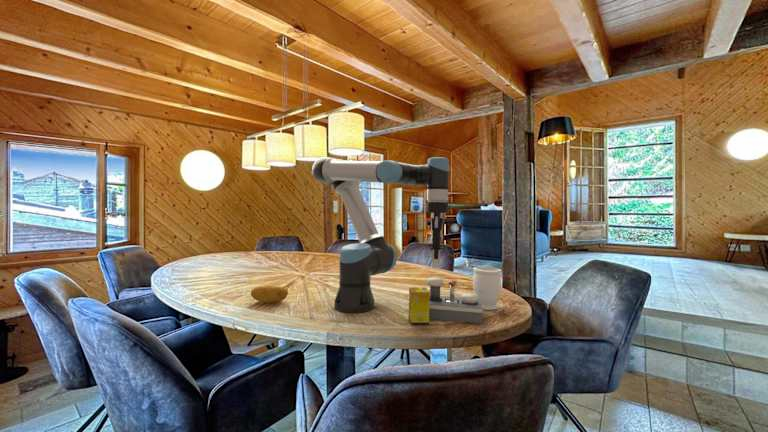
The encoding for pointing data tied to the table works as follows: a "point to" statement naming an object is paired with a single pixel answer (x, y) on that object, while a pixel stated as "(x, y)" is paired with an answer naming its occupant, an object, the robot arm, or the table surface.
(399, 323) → the table surface
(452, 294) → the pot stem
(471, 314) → the mount
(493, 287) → the white tapered cup
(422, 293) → the supplement box
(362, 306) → the robot arm
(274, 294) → the potato
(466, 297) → the knob right
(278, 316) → the table surface
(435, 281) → the knob left
